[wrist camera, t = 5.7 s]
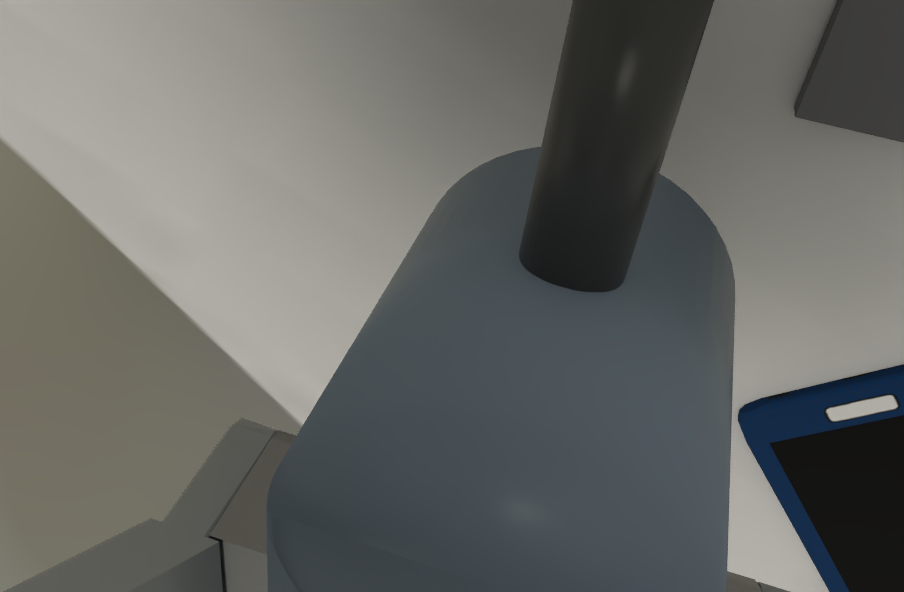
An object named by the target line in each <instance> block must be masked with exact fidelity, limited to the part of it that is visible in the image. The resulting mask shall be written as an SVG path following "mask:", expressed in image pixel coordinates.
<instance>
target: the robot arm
mask: <svg viewBox="0 0 904 592" xmlns="http://www.w3.org/2000/svg"><path fill="white" fill-rule="evenodd" d="M295 438H296V435H293V434H290V433H287V432H284V431H282V430H278V429H275V428H272V427H269V426H266V425H263V424H260V423H257V422H254V421H251V420H248V419H245V418H240V419H239V420H238V421H236V422H235V423H234V424H232V425H231V426H230V427H229V428H228V430H227V431H226V432H225V434H224V435H223V437H222V438H221V439H220V441H219V442H218V444H217V445H216V447H215V448H214V449H213V451H212V452H211V454H210V455H209V456H208V458H207V459H206V461H205V462H204V463H203V465H202V466H201V468H200V469H199V470H198V472H197V473H196V475H195V476H194V478H193V479H192V480H191V482H190V483H189V485H188V486H187V488H186V489H185V490H184V492H183V493H182V495H181V496H180V497H179V499H178V500H177V502H176V503H175V504H174V506H173V507H172V509H171V510H170V512H169V513H168V514H167V516H166V517H165V519H164V520H163V521H159V520H156V519H153V518H150V519H148V520H146V521H144V522H142V523H140V524H138V525H136V526H134V527H132V528H130V529H128V530H126V531H124V532H122V533H120V534H118V535H116V536H114V537H112V538H110V539H108V540H106V541H104V542H102V543H100V544H98V545H96V546H94V547H92V548H90V549H88V550H86V551H83V552H82V553H79V554H77V555H76V556H74V557H71V558H69V559H68V560H66V561H63V562H61V563H59V564H57V565H56V566H53V567H51V568H50V569H48V570H46V571H44V572H41V573H39V574H38V575H36V576H33V577H32V578H29V579H27V580H25V581H23V582H21V583H19V584H17V585H16V586H13V587H12V588H10V589H7V590H6V591H3V592H268V574H267V522H266V509H267V496H268V491H269V487H270V484H271V481H272V478H273V475H274V473H275V472H276V470H277V468H278V466H279V464H280V463H281V461H282V459H283V458H284V456H285V454H286V453H287V451H288V449H289V448H290V446H291V444H292V443H293V441H294V439H295ZM726 592H789V591H786V590H783V589H780V588H777V587H773V586H770V585H767V584H764V583H761V582H756V580H755V579H751V578H748V577H745V576H741V575H738V574H735V573H731V572H728V571H727V589H726Z"/></svg>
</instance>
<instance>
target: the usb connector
mask: <svg viewBox="0 0 904 592" xmlns="http://www.w3.org/2000/svg"><path fill="white" fill-rule="evenodd" d="M713 2H714V0H573V3H572V8H571V13H570V17H569V22H568V26H567V31H566V36H565V40H564V45H563V50H562V54H561V59H560V64H559V68H558V73H557V78H556V82H555V87H554V92H553V96H552V101H551V105H550V110H549V115H548V119H547V124H546V129H545V133H544V138H543V143H542V147H536V148H531V149H525V150H520V151H516V152H512V153H509V154H506V155H503V156H500V157H497V158H495V159H493V160H491V161H489V162H486V163H484V164H482V165H480V166H478V167H477V168H475V169H474V170H472V171H471V172H469V173H468V174H466V175H465V176H463V177H462V178H461V179H460V180H459V181H458V182H457V183H455V184H454V185H453V186H452V187H451V188H450V189H449V190H448V191H447V192H446V194H445V195H444V196H443V197H442V199H441V200H440V201H439V202H438V204H437V205H436V207H435V209H434V210H433V212H432V214H431V215H430V217H429V219H428V220H427V222H426V224H425V225H424V227H423V228H422V230H421V232H420V233H419V235H418V237H417V238H416V240H415V242H414V243H413V245H412V247H411V248H410V250H409V252H408V253H407V255H406V256H405V258H404V260H403V261H402V263H401V265H400V266H399V268H398V270H397V271H396V273H395V275H394V276H393V278H392V280H391V281H390V283H389V285H388V286H387V288H386V289H385V291H384V293H383V294H382V296H381V298H380V299H379V301H378V303H377V304H376V306H375V308H374V309H373V311H372V313H371V314H370V316H369V317H368V319H367V321H366V322H365V324H364V326H363V327H362V329H361V331H360V332H359V334H358V336H357V337H356V339H355V341H354V342H353V344H352V345H351V347H350V349H349V350H348V352H347V354H346V355H345V357H344V359H343V360H342V362H341V364H340V365H339V367H338V369H337V370H336V372H335V373H334V375H333V377H332V378H331V380H330V382H329V383H328V385H327V387H326V388H325V390H324V392H323V393H322V395H321V397H320V398H319V400H318V401H317V403H316V405H315V406H314V408H313V410H312V411H311V413H310V415H309V416H308V418H307V420H306V421H305V423H304V425H303V426H302V428H301V430H300V431H299V433H298V435H297V436H296V438H295V439H294V441H293V443H292V444H291V446H290V448H289V449H288V451H287V453H286V454H285V456H284V458H283V459H282V461H281V463H280V464H279V466H278V468H277V470H276V472H275V473H274V475H273V478H272V481H271V484H270V487H269V491H268V496H267V509H266V522H267V574H268V592H726V589H727V555H728V521H729V488H730V454H731V420H732V387H733V353H734V320H735V280H734V274H733V268H732V263H731V260H730V257H729V254H728V251H727V249H726V246H725V244H724V242H723V240H722V238H721V236H720V234H719V232H718V230H717V228H716V227H715V225H714V224H713V223H712V221H711V220H710V219H709V217H708V216H707V214H706V213H705V212H704V210H703V209H702V208H701V207H700V206H699V205H698V204H697V203H696V202H695V201H694V200H693V199H692V198H691V197H690V196H689V195H688V194H687V193H686V192H685V191H683V190H682V189H681V188H679V187H678V186H677V185H676V184H674V183H673V182H672V181H671V180H669V179H667V178H666V177H664V176H662V175H661V174H659V171H660V168H661V165H662V162H663V158H664V155H665V152H666V149H667V146H668V143H669V140H670V137H671V133H672V130H673V127H674V124H675V121H676V118H677V115H678V112H679V108H680V105H681V102H682V99H683V96H684V93H685V90H686V87H687V83H688V80H689V77H690V74H691V71H692V68H693V65H694V61H695V58H696V55H697V52H698V49H699V46H700V43H701V40H702V36H703V33H704V30H705V27H706V24H707V21H708V18H709V15H710V11H711V8H712V5H713Z"/></svg>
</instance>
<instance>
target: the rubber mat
mask: <svg viewBox="0 0 904 592" xmlns="http://www.w3.org/2000/svg"><path fill="white" fill-rule="evenodd" d="M794 110H795V117H798V118H802V119H806V120H811V121H815V122H819V123H823V124H828V125H832V126H836V127H840V128H845V129H849V130H853V131H857V132H862V133H866V134H870V135H874V136H879V137H883V138H887V139H891V140H896V141H900V142H904V0H838V2H837V5H836V7H835V10H834V12H833V15H832V17H831V19H830V22H829V24H828V27H827V29H826V31H825V34H824V36H823V39H822V41H821V44H820V46H819V48H818V51H817V53H816V56H815V58H814V61H813V63H812V65H811V68H810V70H809V73H808V75H807V78H806V80H805V82H804V85H803V87H802V90H801V92H800V95H799V97H798V99H797V102H796V104H795V107H794Z"/></svg>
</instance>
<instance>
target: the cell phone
mask: <svg viewBox="0 0 904 592" xmlns="http://www.w3.org/2000/svg"><path fill="white" fill-rule="evenodd" d="M738 421H739V424H740V427H741V429H742V432H743V434H744V437H745V439H746V442H747V444H748V446H749V447H750V449H751V451H752V453H753V455H754V456H755V458H756V460H757V462H758V464H759V465H760V467H761V469H762V471H763V473H764V474H765V476H766V478H767V480H768V482H769V483H770V485H771V487H772V489H773V491H774V492H775V494H776V496H777V498H778V500H779V501H780V503H781V505H782V507H783V509H784V510H785V512H786V514H787V516H788V518H789V519H790V521H791V523H792V525H793V527H794V528H795V530H796V532H797V534H798V536H799V537H800V539H801V541H802V543H803V545H804V546H805V548H806V550H807V552H808V554H809V555H810V557H811V559H812V561H813V563H814V564H815V566H816V568H817V570H818V572H819V573H820V575H821V577H822V579H823V581H824V582H825V584H826V586H827V588H828V590H829V591H830V592H904V364H903V365H899V366H895V367H891V368H887V369H882V370H878V371H874V372H870V373H866V374H861V375H857V376H853V377H849V378H845V379H840V380H836V381H832V382H828V383H824V384H819V385H815V386H811V387H807V388H803V389H799V390H794V391H790V392H786V393H782V394H778V395H773V396H769V397H765V398H761V399H758V400H756V401H753V402H751V403H748V404H746V405H744V406H743V407H742V408H741V409H740V410H739V414H738Z"/></svg>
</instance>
